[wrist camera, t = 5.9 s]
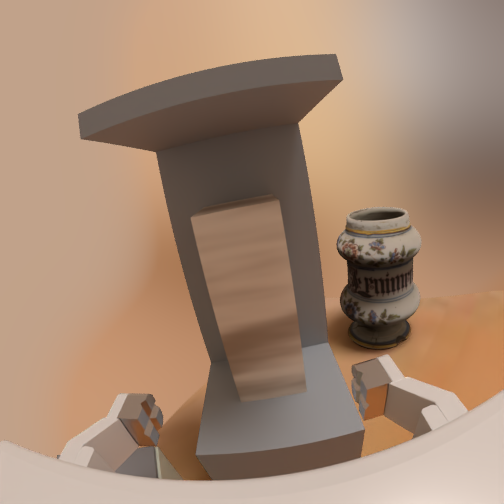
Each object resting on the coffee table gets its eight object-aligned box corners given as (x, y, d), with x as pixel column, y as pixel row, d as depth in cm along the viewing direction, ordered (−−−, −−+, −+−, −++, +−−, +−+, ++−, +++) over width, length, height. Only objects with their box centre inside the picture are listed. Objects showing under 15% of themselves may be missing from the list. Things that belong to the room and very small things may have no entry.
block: (306, 391, 19) (279, 200, 15) (241, 402, 19) (190, 217, 16) (297, 354, 24) (271, 194, 20) (242, 363, 24) (203, 207, 20)
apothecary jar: (383, 366, 31) (384, 227, 27) (326, 333, 42) (313, 218, 37) (431, 325, 36) (435, 207, 31) (376, 304, 47) (370, 202, 42)
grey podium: (355, 485, 17) (336, 54, 9) (230, 504, 17) (77, 114, 9) (328, 401, 28) (292, 111, 20) (234, 416, 29) (158, 139, 21)
